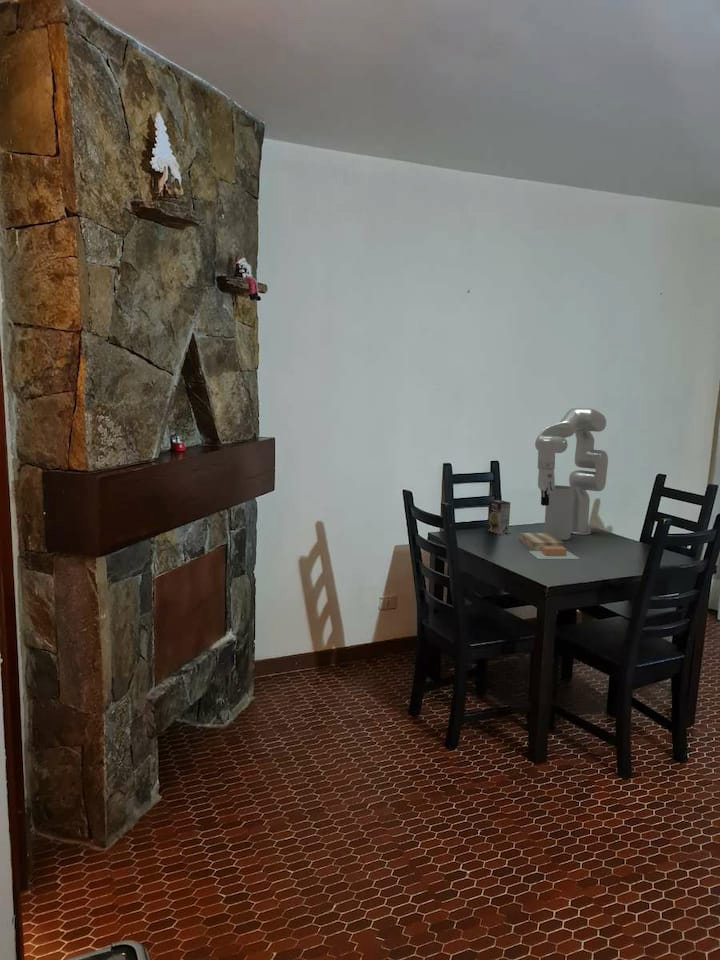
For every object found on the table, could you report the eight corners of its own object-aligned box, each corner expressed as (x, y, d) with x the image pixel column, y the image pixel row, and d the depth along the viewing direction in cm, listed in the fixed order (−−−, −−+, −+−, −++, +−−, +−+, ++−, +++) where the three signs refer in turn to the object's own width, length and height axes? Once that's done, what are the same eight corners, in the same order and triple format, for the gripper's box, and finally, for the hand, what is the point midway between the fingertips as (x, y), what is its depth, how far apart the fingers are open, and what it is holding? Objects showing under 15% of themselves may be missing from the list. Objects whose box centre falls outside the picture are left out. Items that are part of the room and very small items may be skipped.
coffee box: (487, 531, 353) (488, 500, 351) (497, 530, 356) (498, 499, 354) (499, 535, 345) (500, 502, 343) (509, 533, 348) (510, 502, 346)
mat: (567, 551, 313) (567, 550, 313) (579, 559, 300) (579, 558, 300) (528, 551, 312) (528, 550, 312) (538, 559, 298) (538, 558, 298)
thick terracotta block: (566, 549, 304) (566, 555, 304) (561, 545, 310) (561, 552, 310) (546, 549, 303) (546, 555, 303) (541, 545, 309) (541, 552, 309)
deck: (548, 541, 334) (548, 532, 333) (562, 551, 314) (563, 542, 313) (519, 541, 333) (519, 532, 332) (532, 551, 313) (532, 542, 312)
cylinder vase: (576, 539, 337) (579, 488, 334) (554, 541, 333) (557, 489, 329) (559, 534, 349) (562, 484, 345) (538, 536, 344) (541, 485, 341)
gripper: (560, 467, 309) (558, 508, 312) (548, 462, 324) (547, 501, 327) (543, 468, 308) (542, 508, 312) (532, 463, 323) (531, 502, 326)
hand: (544, 505), depth 319 cm, fingers closed
